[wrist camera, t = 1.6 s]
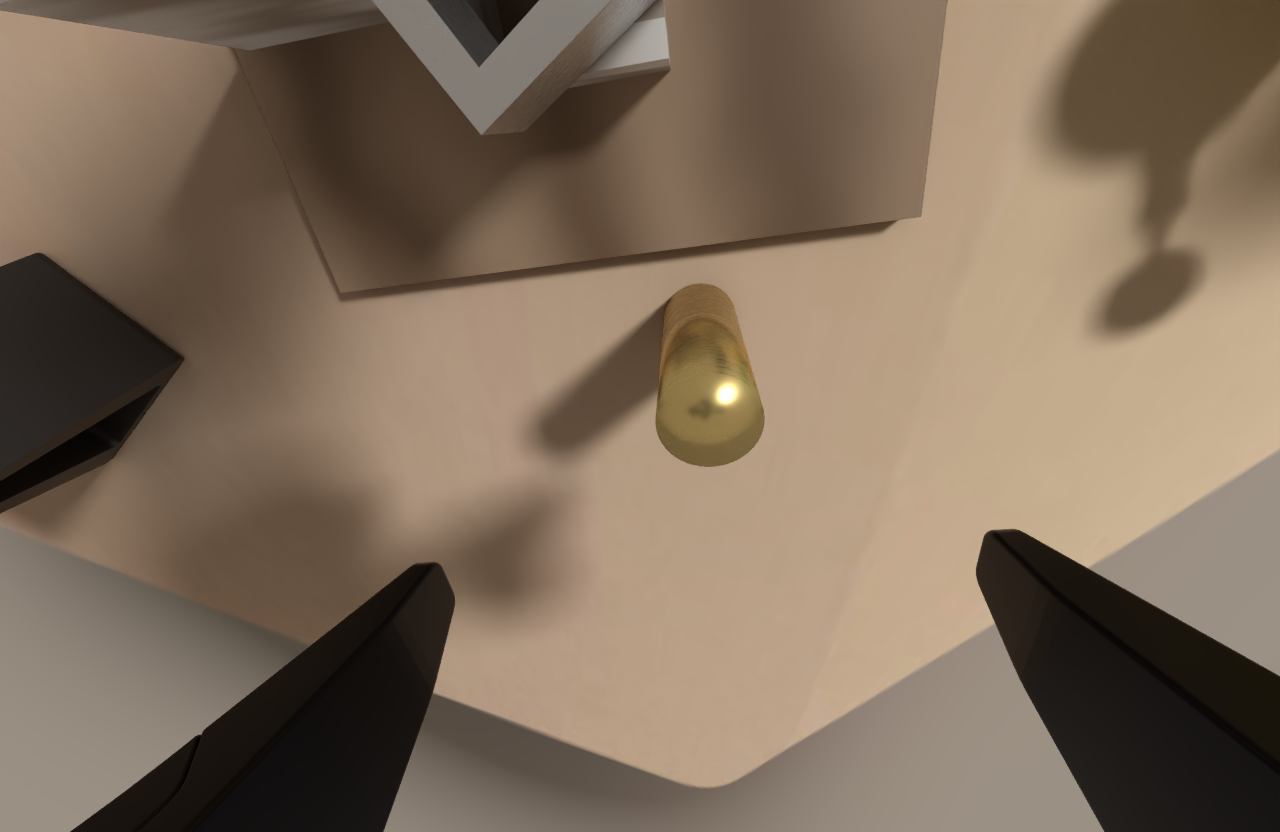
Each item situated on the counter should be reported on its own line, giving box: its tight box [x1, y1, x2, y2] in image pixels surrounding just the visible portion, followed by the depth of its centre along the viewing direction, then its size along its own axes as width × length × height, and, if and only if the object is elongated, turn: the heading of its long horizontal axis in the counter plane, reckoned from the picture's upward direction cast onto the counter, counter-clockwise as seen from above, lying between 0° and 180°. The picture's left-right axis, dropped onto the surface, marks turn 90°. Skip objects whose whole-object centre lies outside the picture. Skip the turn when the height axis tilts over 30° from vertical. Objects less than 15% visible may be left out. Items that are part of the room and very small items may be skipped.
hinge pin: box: [656, 284, 764, 467], centre depth 17 cm, size 3×3×8 cm
